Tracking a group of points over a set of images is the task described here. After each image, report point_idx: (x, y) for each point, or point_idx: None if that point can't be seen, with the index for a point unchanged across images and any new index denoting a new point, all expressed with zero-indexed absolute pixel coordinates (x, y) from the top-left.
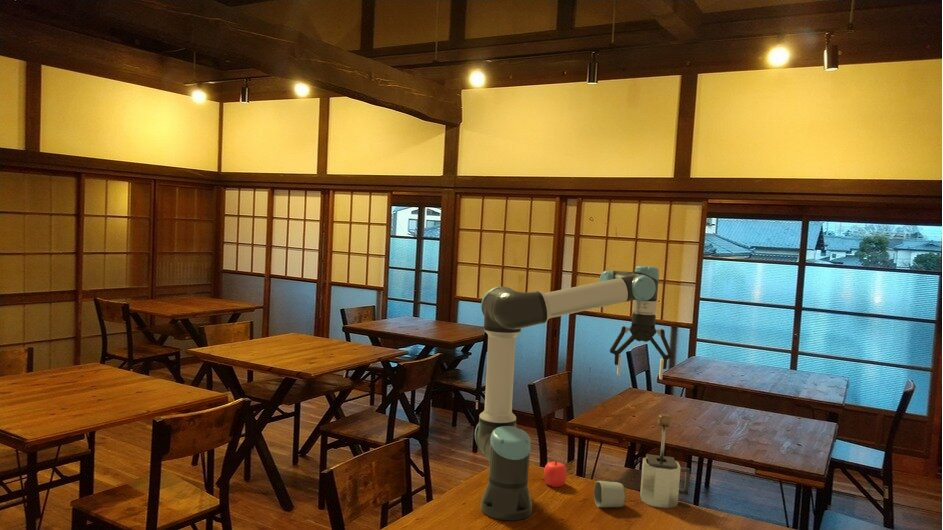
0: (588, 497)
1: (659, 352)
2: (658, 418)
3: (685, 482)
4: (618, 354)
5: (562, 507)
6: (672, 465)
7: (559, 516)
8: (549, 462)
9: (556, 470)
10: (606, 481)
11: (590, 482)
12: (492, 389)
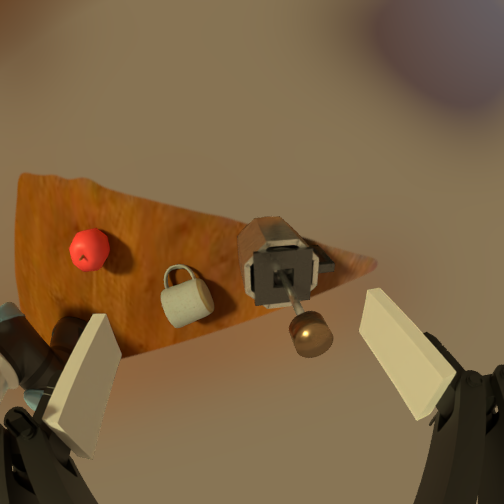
0: (155, 273)
1: (427, 467)
2: (293, 342)
3: (319, 260)
4: (70, 463)
5: (130, 317)
6: (301, 298)
7: (136, 341)
8: (71, 250)
9: (90, 270)
10: (178, 310)
11: (147, 207)
12: None
